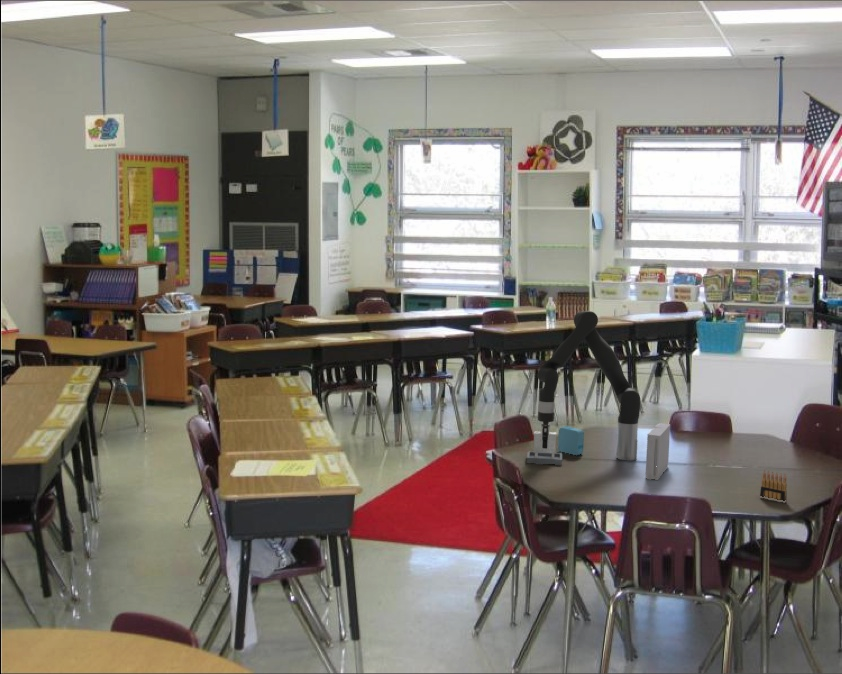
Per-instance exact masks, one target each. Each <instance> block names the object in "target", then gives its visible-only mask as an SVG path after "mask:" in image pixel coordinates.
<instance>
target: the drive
mask: <svg viewBox="0 0 842 674" xmlns="http://www.w3.org/2000/svg"><path fill="white" fill-rule="evenodd" d="M542 436H543V435H542V431H539V430H538V431H534V433H533V451H532V452H533V453H552V454H555V453H556V445H557V432H556V431H555V432H554V431H549V435H548V441H547V449H544V448H542V444H543V440H542ZM544 437H547V436H544Z"/></svg>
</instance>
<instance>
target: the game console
mask: <svg viewBox="0 0 842 674" xmlns="http://www.w3.org/2000/svg"><path fill="white" fill-rule="evenodd" d="M670 437H671V423H661V422H660V423H659V422H658V423H657V424H656V425H655V426H654V427H653V429H651V430H650V431H649V432H648V433H647V437H646V438H647V439H646V440H647V441H646V459H645V460H646V461H645V478H644V479H646V478H647V479H646V480H651V479H655V480H654V481H658V480H659V479H660V478H661V477H662V475H664V473H665V471H666V470H667V469H668V465H669V456H670V455H669V454H670ZM656 466H657V467H656ZM663 472H664V473H663ZM660 476H661V477H660Z"/></svg>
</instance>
